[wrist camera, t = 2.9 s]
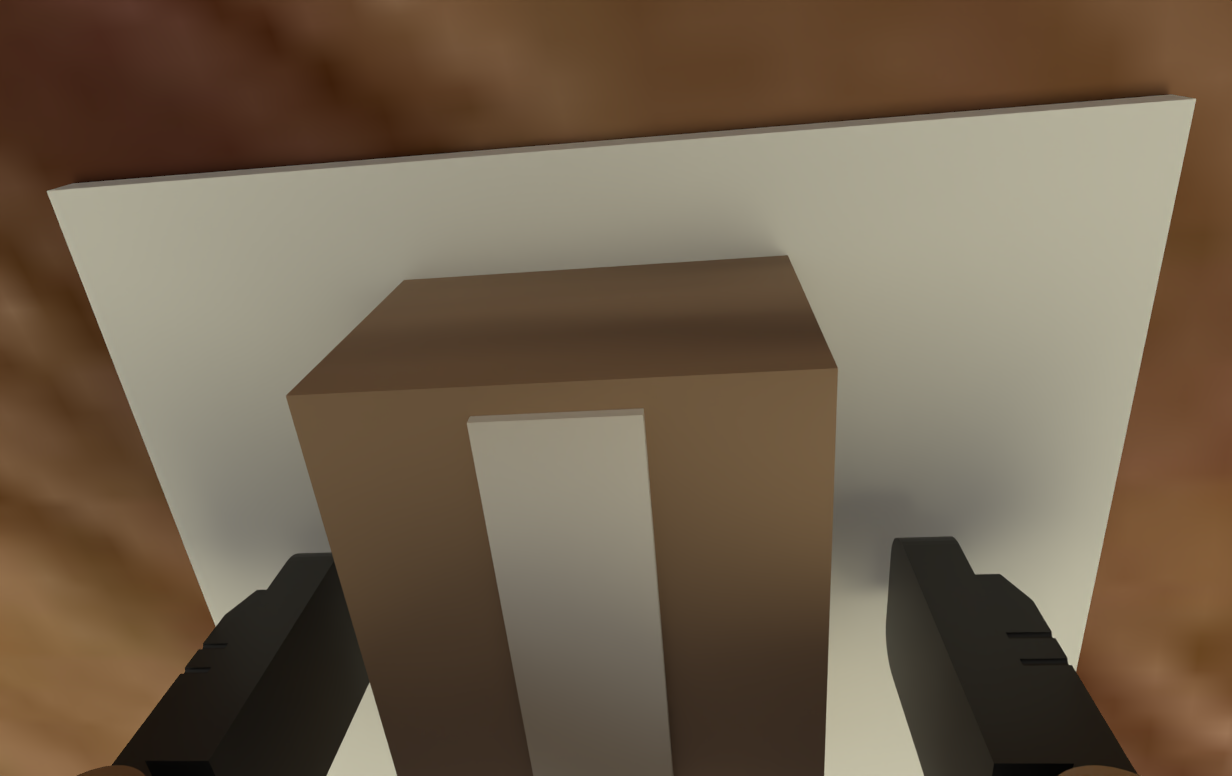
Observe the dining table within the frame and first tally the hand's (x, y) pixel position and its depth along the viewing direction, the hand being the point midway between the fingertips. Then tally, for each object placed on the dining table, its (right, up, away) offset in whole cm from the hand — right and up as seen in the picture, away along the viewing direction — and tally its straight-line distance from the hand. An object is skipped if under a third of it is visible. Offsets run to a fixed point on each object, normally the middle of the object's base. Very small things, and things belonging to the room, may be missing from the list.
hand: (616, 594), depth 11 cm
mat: (+1, -5, +4) cm, 6 cm away
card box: (0, 0, +1) cm, 1 cm away
